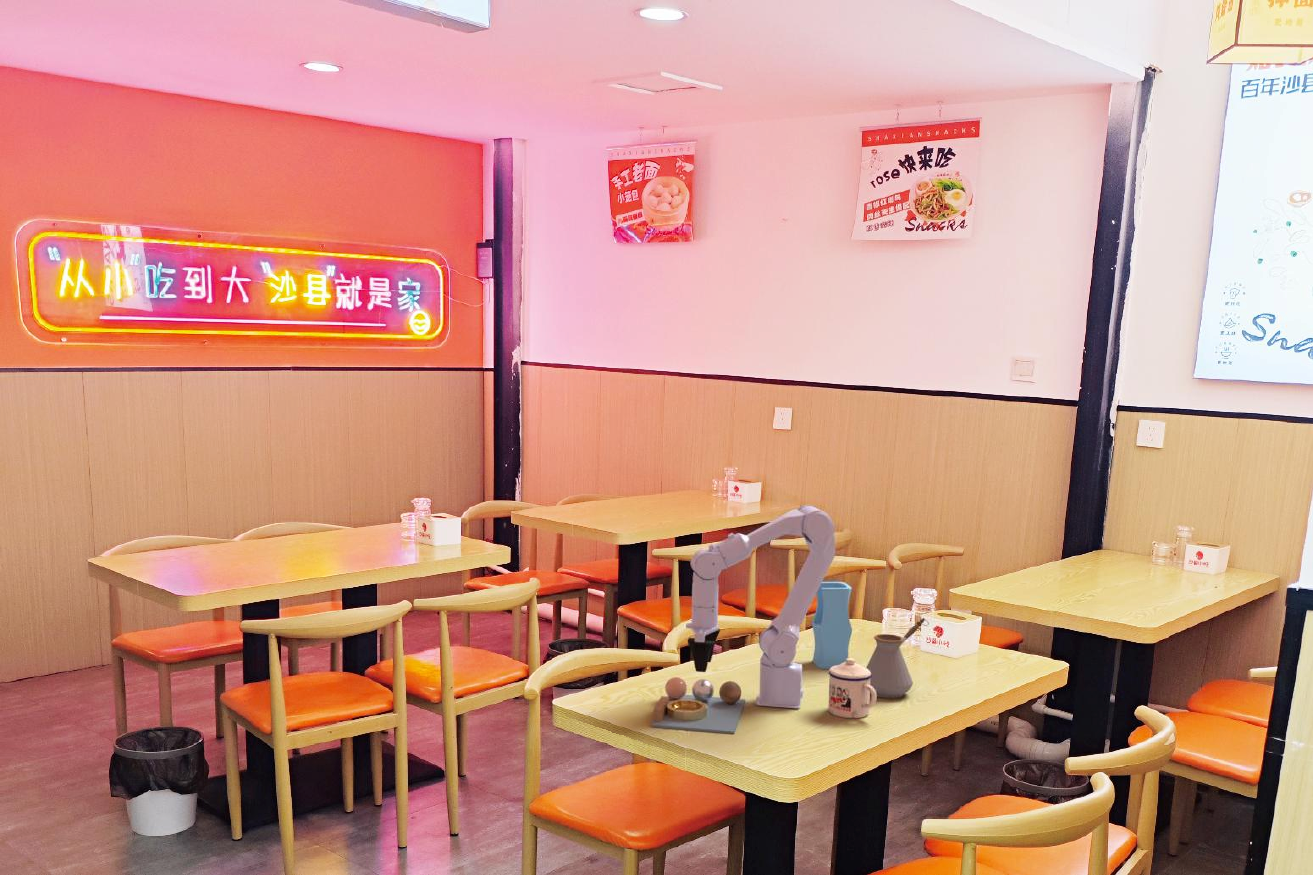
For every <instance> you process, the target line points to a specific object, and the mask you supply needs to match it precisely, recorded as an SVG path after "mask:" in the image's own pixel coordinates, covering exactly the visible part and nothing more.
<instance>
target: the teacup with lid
mask: <svg viewBox="0 0 1313 875" xmlns="http://www.w3.org/2000/svg"><path fill="white" fill-rule="evenodd" d="M828 670H829V671H828V675H829V684H828V712H830V714H831V715H834V716H836V717H839V718H845V719H861V718H865V717H867V716H868V715H869V713H870V709H871V708H873V707H874V706H875V705H876V703H877V700H878V698H877V697H878V696H877V694H876V691H875V689H874V688H873V687H872V686H870V678H871V676H872V675H871V672H870V671H869V670H868V669H867V668H866V667H864V666H862V665H860V664H859V663H856V660H855V658H852V657H851V658H847V659H846V662H845V663H842V664H840V665H836V666H833V667H831V668H830V669H828ZM870 697H871V698H870Z"/></svg>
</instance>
